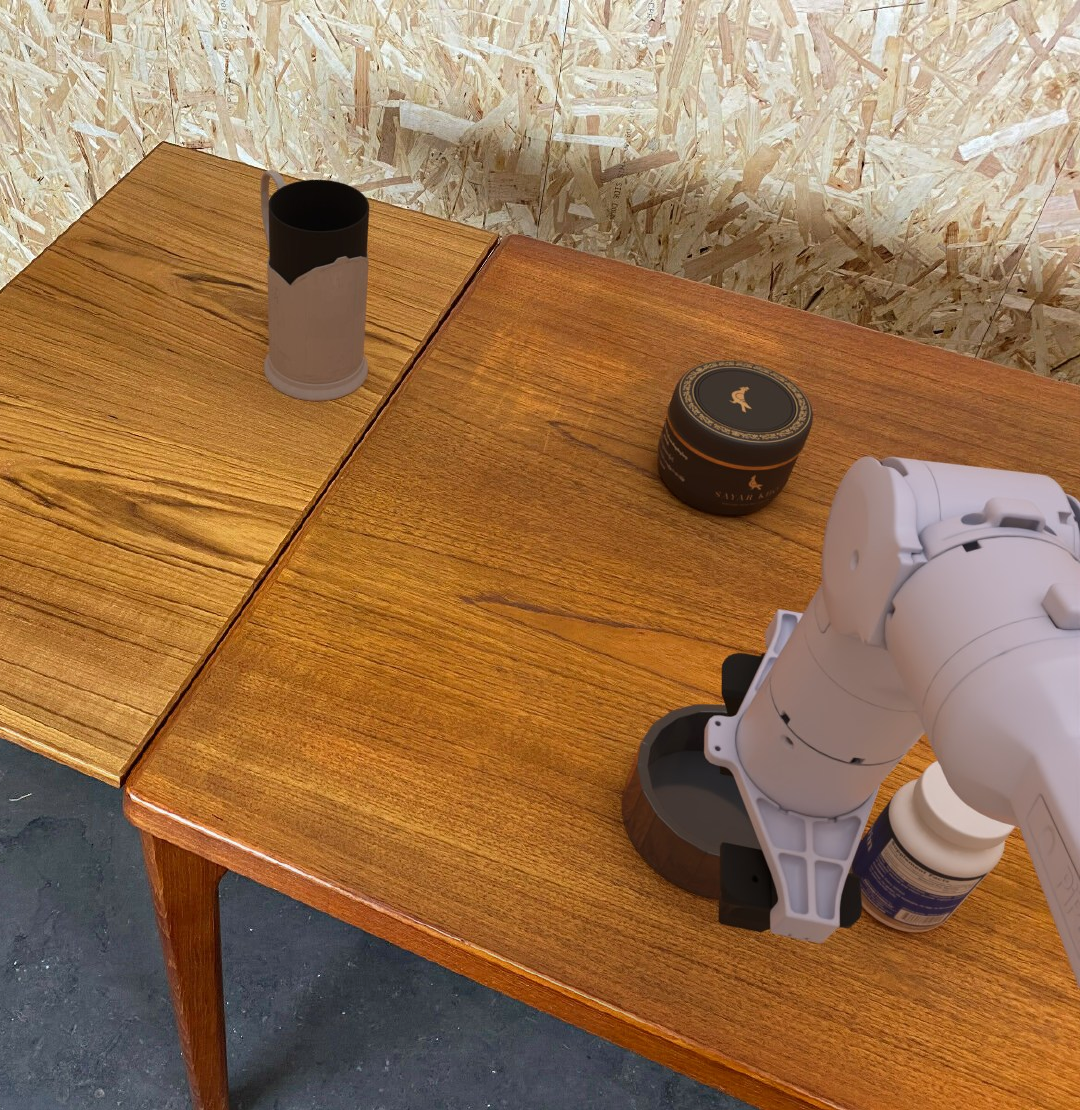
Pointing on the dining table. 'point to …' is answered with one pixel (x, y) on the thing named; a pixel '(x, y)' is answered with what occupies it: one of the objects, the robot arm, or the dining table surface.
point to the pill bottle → (925, 854)
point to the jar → (732, 436)
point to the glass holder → (315, 287)
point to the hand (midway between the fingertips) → (740, 843)
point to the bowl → (684, 803)
